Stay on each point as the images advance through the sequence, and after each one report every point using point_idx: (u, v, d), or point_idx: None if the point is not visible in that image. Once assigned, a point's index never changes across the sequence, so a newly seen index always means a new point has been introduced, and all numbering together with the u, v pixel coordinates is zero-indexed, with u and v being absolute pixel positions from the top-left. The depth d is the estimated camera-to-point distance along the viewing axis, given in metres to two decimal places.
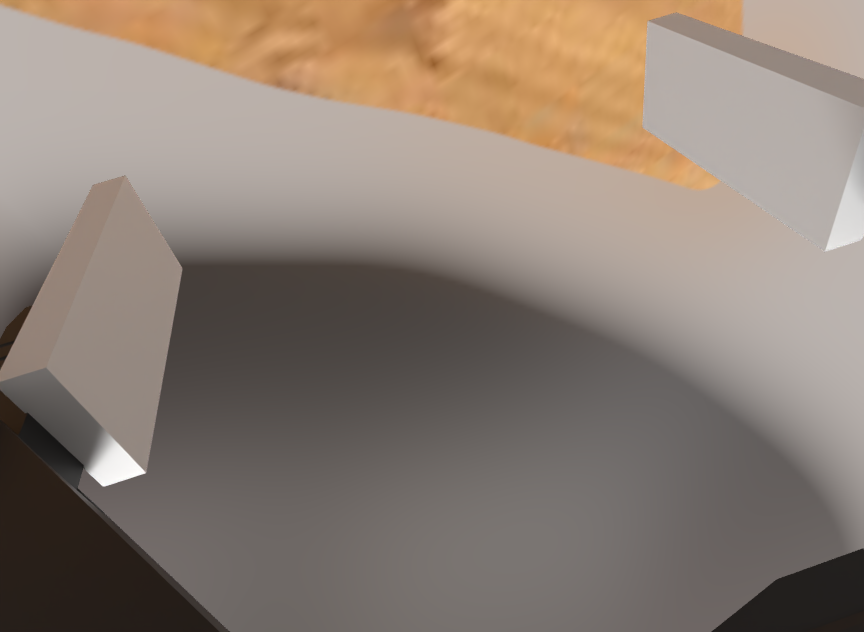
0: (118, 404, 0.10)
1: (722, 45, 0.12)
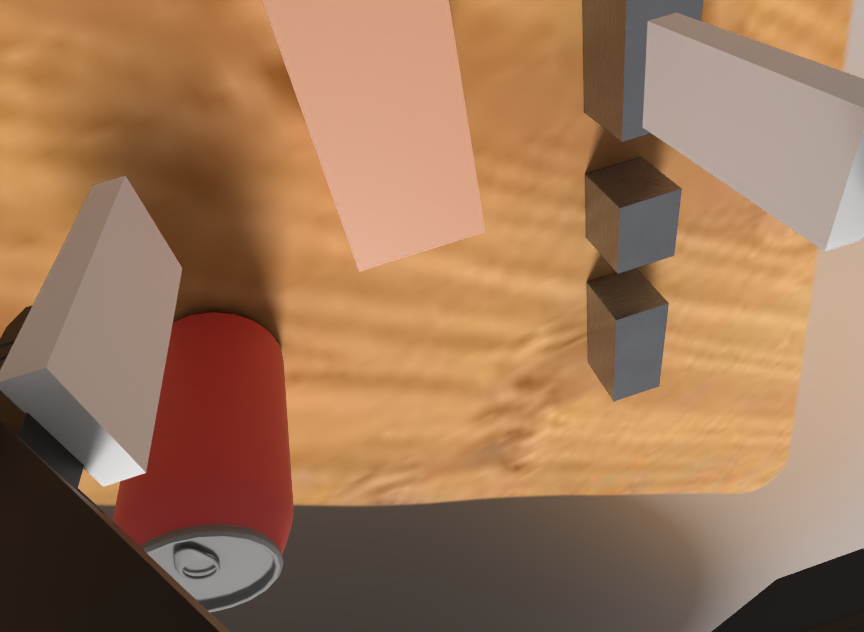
0: (118, 404, 0.10)
1: (722, 45, 0.12)
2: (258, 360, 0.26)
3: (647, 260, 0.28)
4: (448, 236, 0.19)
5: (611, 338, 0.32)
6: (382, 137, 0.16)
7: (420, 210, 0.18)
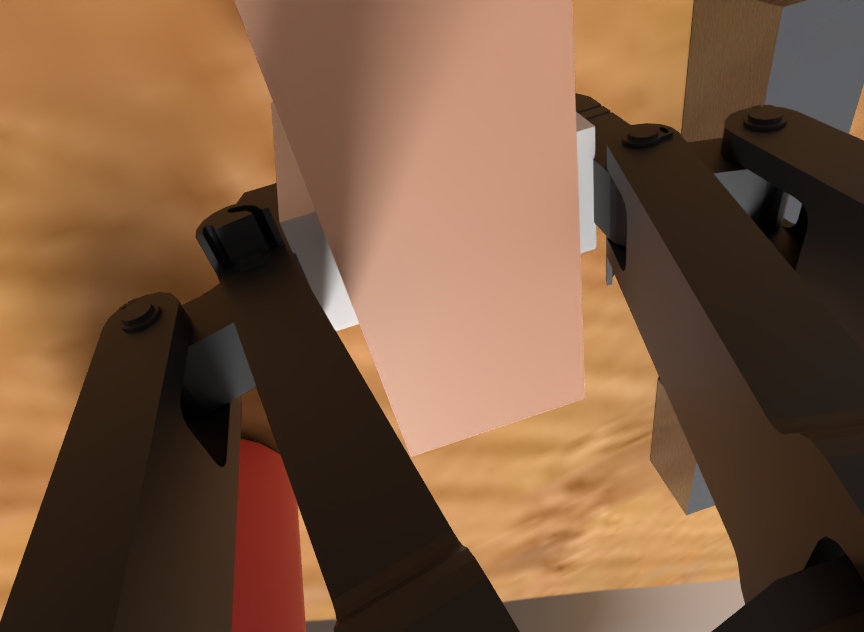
0: None
1: None
2: (266, 505, 0.21)
3: None
4: (535, 407, 0.13)
5: (690, 450, 0.26)
6: (457, 300, 0.11)
7: (501, 382, 0.12)
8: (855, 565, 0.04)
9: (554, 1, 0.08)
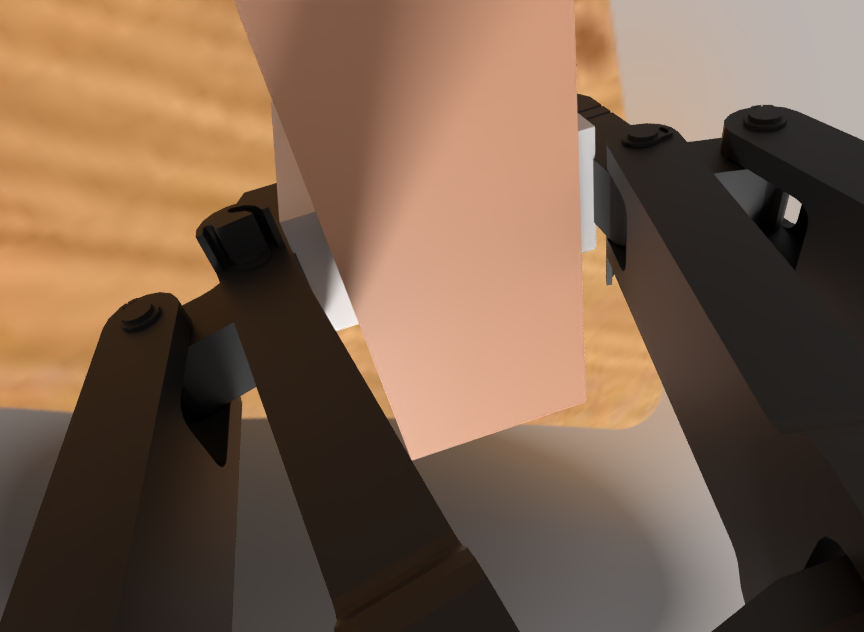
0: None
1: None
2: None
3: None
4: (536, 411, 0.13)
5: None
6: (459, 304, 0.11)
7: (502, 386, 0.12)
8: (855, 566, 0.04)
9: (556, 6, 0.08)
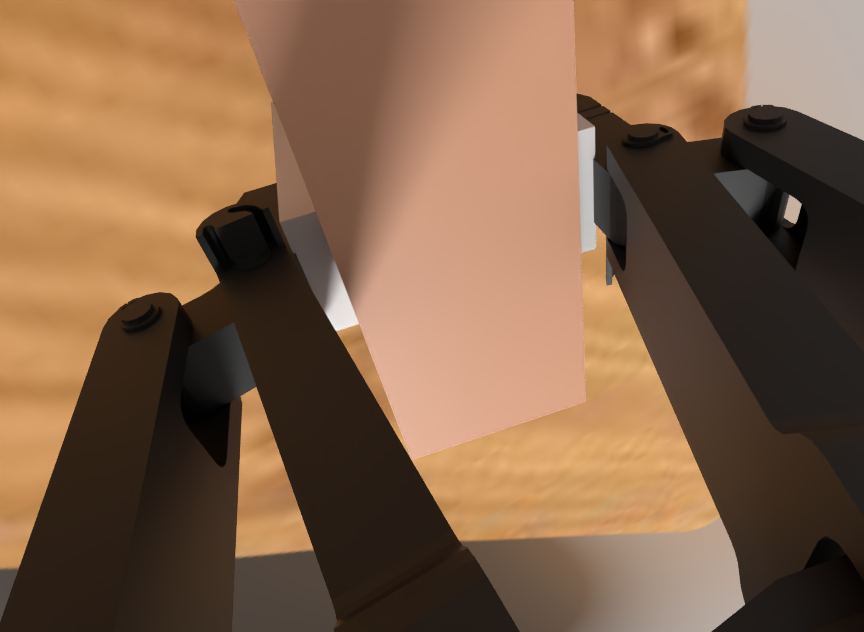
0: None
1: None
2: None
3: None
4: (536, 411, 0.13)
5: None
6: (459, 304, 0.11)
7: (502, 386, 0.13)
8: (854, 564, 0.04)
9: (556, 7, 0.08)
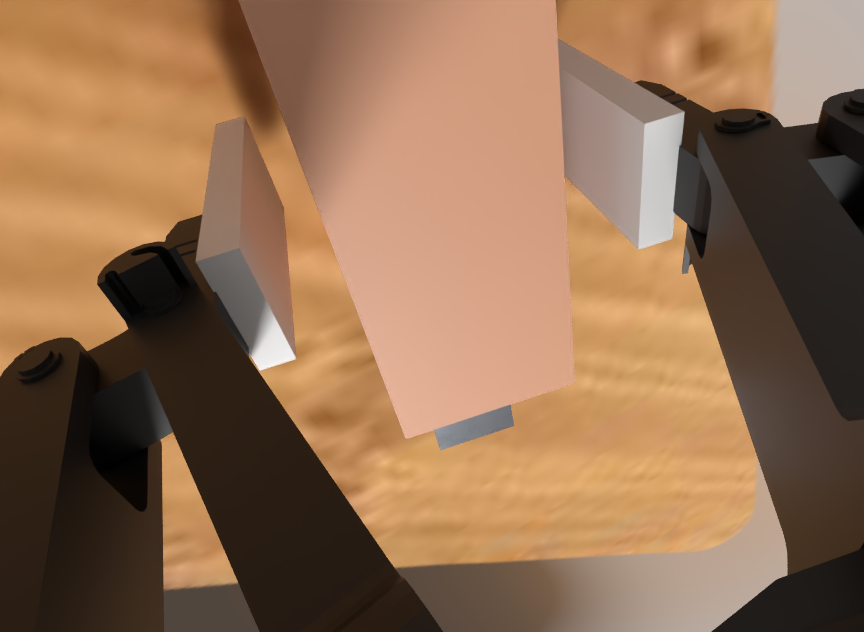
0: (274, 297, 0.11)
1: (562, 61, 0.13)
2: None
3: None
4: (526, 391, 0.14)
5: None
6: (450, 285, 0.11)
7: (492, 366, 0.13)
8: None
9: None
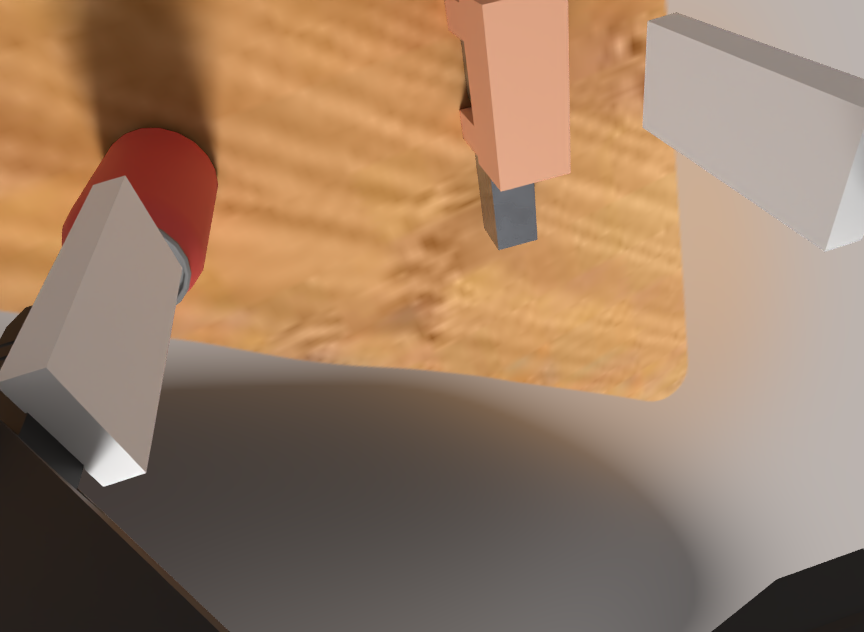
0: (118, 404, 0.10)
1: (722, 45, 0.12)
2: (191, 159, 0.33)
3: None
4: (550, 174, 0.34)
5: (489, 183, 0.39)
6: (526, 114, 0.31)
7: (538, 157, 0.33)
8: None
9: (563, 13, 0.28)
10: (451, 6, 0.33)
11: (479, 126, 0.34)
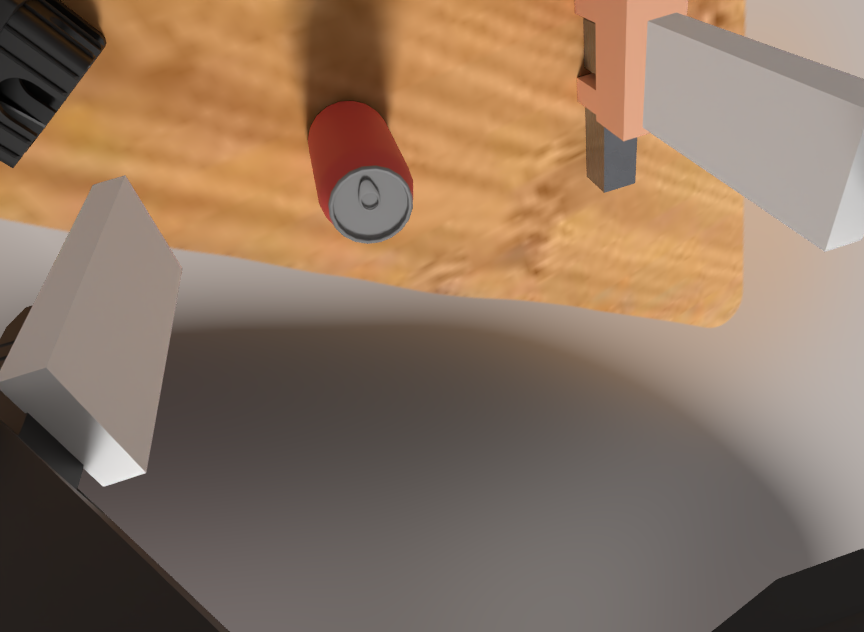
0: (118, 404, 0.10)
1: (722, 45, 0.12)
2: (383, 124, 0.43)
3: None
4: None
5: (601, 137, 0.48)
6: None
7: None
8: None
9: None
10: None
11: (603, 90, 0.43)
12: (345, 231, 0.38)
